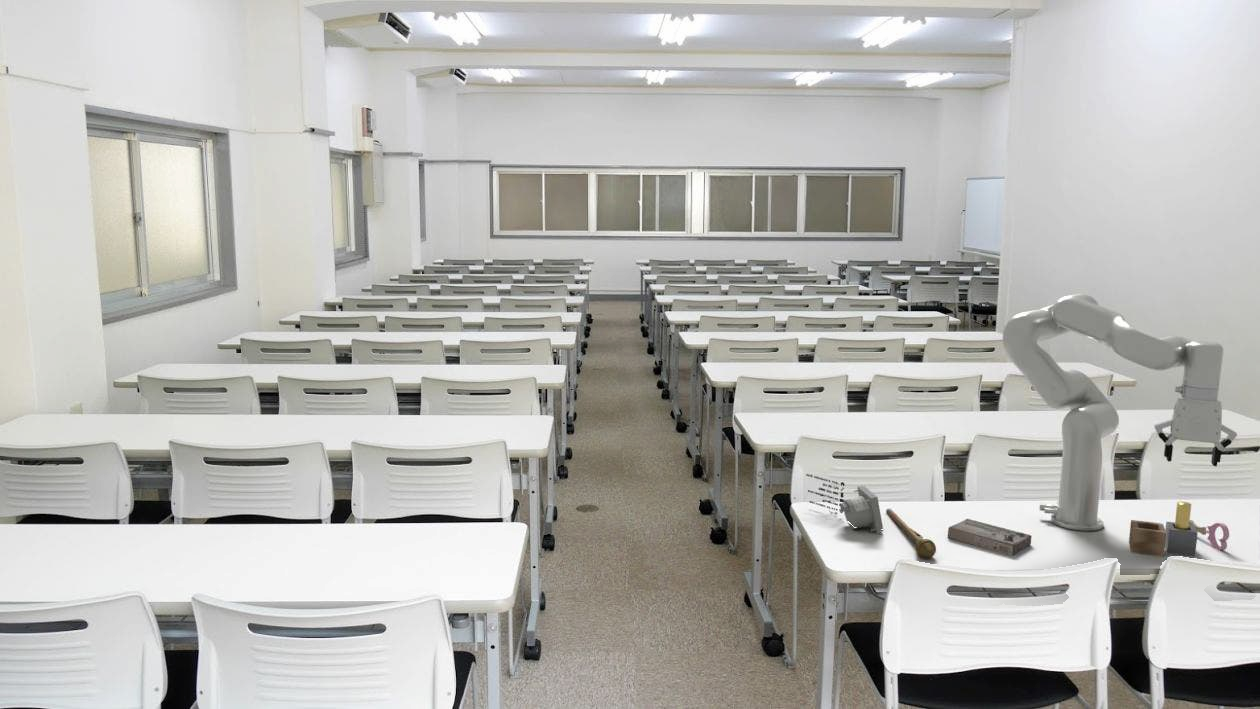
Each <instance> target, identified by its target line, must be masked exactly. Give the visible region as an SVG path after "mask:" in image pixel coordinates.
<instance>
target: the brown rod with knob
mask: <svg viewBox="0 0 1260 709" xmlns="http://www.w3.org/2000/svg"><path fill="white" fill-rule="evenodd" d="M885 512H886V514H887V515H888V516H889V517H890V518H891V519H892V520H893V521H894V522H895V523H896V524H897V525H898V526H899V527H900V528H901V530H903V531H904V532H905V534H907V536H908V537H909V538H910V539H911V540H912V541H913V542H915V553H916V554H917V555H918V557H920V558H921V559H931V558H933V557H934V556H935V554H936V553H937V547H936V544H935V543H934V541H932V540H930V539H928V538H924V539H923V535H921V534H920V533H918V532H917V531H915V530H913V528H911V527H909V526H908V524H907V523H906V522H904V521H903V520H902V519H901V518H900V517H899V516H898V514H896V513H895V512H894V511H893V509H892V508H887V509H886V510H885Z"/></svg>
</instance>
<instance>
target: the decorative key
mask: <svg viewBox="0 0 1260 709" xmlns="http://www.w3.org/2000/svg"><path fill="white" fill-rule="evenodd" d="M1189 524H1191V525H1194V526H1195V528H1196V530H1197V532H1198V533H1200V534H1201V535H1203V536H1205V535H1207V534H1208V536H1207V538H1206V539H1207V540H1208V541H1209V542H1210V544H1211V545H1212V547H1213V548H1214V549H1216V550H1217V551H1225V550H1227V548H1228V544H1227V543H1228V542H1227V541H1228V539H1229V538H1230V529H1229V527H1228V526H1227V525H1226V524H1225V523H1224V522H1216V523H1214V524H1211V525H1209V526H1203V527H1200V526H1199V525H1197V524H1196V523H1195V522H1194V520H1193V519H1190V521H1189ZM1219 527H1220V528H1221V530H1222V532H1223V533H1222V534H1223V536H1222V538H1220V539H1218V541H1219V542H1220V544H1221V545H1219V543H1218V542H1217V539H1216V531H1217V529H1218V528H1219ZM1207 529H1208V530H1207Z"/></svg>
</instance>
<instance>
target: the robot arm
mask: <svg viewBox="0 0 1260 709" xmlns="http://www.w3.org/2000/svg"><path fill="white" fill-rule="evenodd" d="M1070 332H1073V333H1075V334H1079V335H1081V336H1083V337H1085V338H1088V339H1090V340H1092V341H1095V342H1097V343H1100V344H1101V345H1104V346H1106V347H1107V348H1108V349H1109V350H1111V351H1113V352H1114V353H1116V354H1117V356H1120V357H1121V358H1123V359H1125V360H1127V361H1130V362H1132V363H1135V364H1138V365H1140V366H1142V367H1144V368H1147V369H1150V370H1153V371H1160V372H1161V371H1167V370H1171V369H1173V368H1179V367H1180V368H1181V367H1184V368H1183V377H1182V383H1181V385H1179V386H1175V387H1174V393H1178V394H1180V395H1178V396H1177V399H1176V401H1175V405H1174V408H1173V413H1172V417H1171V419H1168V420H1164V421H1161V422H1159V423H1156V424H1154V429H1155V432H1156V433H1157V435H1158V437H1159V439H1161V440H1162V442H1163V443H1164V452H1163V457H1164V458H1166V461H1167V462H1172V460H1173V449H1174V446H1173V443H1174V442H1175V441H1176V440H1180V441H1189V442H1198V443H1199V442H1200V443H1213V445H1214V446H1213V448H1212V451H1211V452H1212V455H1211V459H1210V460H1211V461H1210V463H1211V464H1212V466H1213V467H1217V466H1218V463H1220V462H1221V458H1222V451H1223V450H1224V449H1225V448H1227V447H1228V446H1230V445H1231V444H1232V442H1233V441H1234V440H1235V439H1236V437H1237V436H1238V433H1237V432H1236V431H1234V430H1233V429H1232V428H1230V427H1227V426H1226V425H1224V424H1222V420H1223V419H1222V418H1223V408H1222V401H1221V400H1220V399H1218V397H1219V390H1220V389H1219V388H1220V382H1221V381H1220V380H1221V373H1222V366H1223V365H1222V364H1223V359H1224V357H1223V356H1224V347H1223V346H1222V344H1220V343H1218V342H1215V341H1214V342H1213V341H1207V340H1193V339H1190V338H1185V337H1182V336H1177V335H1176V336H1175V335H1170V336H1166V337H1161V338H1156V337H1154V336H1151V335H1149V334H1147V333H1143V332H1141V331H1139V330H1137V329H1135V328H1133V327H1131V326H1130V325H1129V324H1128V323H1127V321H1126V318H1125V316H1124V315H1122V314H1121V313H1119V312H1117V311H1114V310H1111V309H1108V308H1105V307H1103V306H1100V304H1099V303H1098V301H1097V300H1096V299H1095V298H1094V297H1093V296H1091V295H1088V294H1085V293H1076V294H1072V295H1071V294H1070V295H1066V296H1063V297H1061V298H1059V299H1057V300H1056V302H1054V303H1053V304H1051V305H1049V306H1046V307H1043V308H1040V309H1039V308H1038V309H1034V310H1029V311H1023V312H1020V313H1017V314H1015V315H1014V316H1012V317H1011V318H1010V319H1009V320H1008V321H1007V322H1006V324H1005V326H1004V329H1003V332H1002V344H1003V348H1004V351H1005V353H1006V355H1007V357H1008V358H1009V359H1010V360H1011V362H1012V364H1013V365H1014V366H1016V368H1017V369H1018V370H1019V371H1020V373H1021V374H1022V375H1023V376H1024V377H1025V379H1026V380H1027V382H1028V383H1029V384H1030V385H1031V387H1032V388H1033V390H1035V391H1036V393H1037V394H1038V395H1039V396H1040V398H1041V399H1042V401H1043V402H1044V403H1045V404H1046V405H1047V406H1048V407H1050V408H1052V409H1055V410H1056V409H1057V410H1062V409H1066V408H1069V409H1070V410H1069V411H1068V412H1067V414H1066V415H1065V416H1064V418H1063V421H1062V423H1061V438H1062V457H1061V459H1062V460H1061V471H1060V480H1059V481H1060V483H1059V496H1058V500H1057V501H1056V503H1053V504H1052V505H1051V504H1047V503H1041V502H1040V503H1039V511H1041V512H1044V514H1049V515H1050V514H1051V515H1050V521H1051V522H1052V523H1054V525H1057V526H1059V527H1061V528H1065V529H1070V530H1074V531H1083V532H1089V531H1090V532H1091V531H1092V532H1093V531H1099V530H1101V529H1103V527H1104V521H1103V520H1102V519H1101V518H1099V517H1098V514H1099V504H1100V503H1099V502H1100V490H1101V482H1102V481H1101V480H1102V470H1103V468H1102V467H1103V448H1102V439H1104V438H1106V437H1109V436H1110V435H1111V434H1113V433H1114V432H1115V431H1116V430H1117V429H1118V426H1119V424H1120V422H1119V421H1120V420H1119V419H1120V416H1119V414H1118V412H1117V410H1116V408H1115V407H1114V405H1113V404H1112V403H1111V402H1110V400H1109V399H1108V398H1107V397H1106V395H1105V394H1104V393H1103V392H1102V391H1101V389H1099V387H1098V385H1096V384H1095V383H1094V382H1093V381H1092V379H1091V378H1090V377H1089V376H1087V374H1085V373H1083V372H1082V371H1080V370H1078V369H1065V370H1064V369H1062V367H1061V366H1060V365H1059V364H1058V363H1057V362H1056V361H1055V359H1054V358H1053V357H1052V356H1051V354H1049V353H1048V352H1047V351H1046V350H1044V349H1043V348H1042V347H1041V346H1040V345H1039V344H1038V342H1042V341H1046V340H1050V339H1052V338H1056V337H1058V336H1061V335H1064V334H1067V333H1070ZM1169 427H1170V434H1168V435H1166V434H1165V433H1164V431H1163V429H1166V428H1169ZM1222 432H1223V433H1225V434H1227V436H1226V438H1224V439H1222V440H1221V436H1222ZM1220 440H1221V441H1220Z"/></svg>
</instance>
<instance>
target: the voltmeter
mask: <svg viewBox="0 0 1260 709" xmlns="http://www.w3.org/2000/svg"><path fill="white" fill-rule="evenodd" d="M805 475H806V477H810V478H814V479H816V480H821V481H823V482H824V481H825V482H828V483H830V482H831V483H832V484H836V485H839V482H838V481H835V480H834V481H833V480H830V479H828V478H822V477H819V476H816V475H814V476H813V474H809V473H808V474H806V473H805ZM822 486H823V487H827V488H830V489H832V488H833V489H835V490H840V498H837V497H834V496H830V495H826V494H824V493H820V492H816V491H813V490H809V489H808V490H807V493H811V494H815V495H818V496H819V497H826V498H829V499H833V500H836V501H837V502H838V501H839V504H838V503H837V502H835V501H833V502H832V501H831V500H827V499H822V502H823V503H828V504H832V505H835V506H837V507H838V506H839V510H838V508H834V507H831V506H829V505H824V504H821V503H817V502H815V501H810V500H809V504H813V505H814V504H815V505H817V506H820V507H824V508H828V509H831V510H833V511H835V512H833V511H830V510H829V511H828V512H829V513H830V514H832V515H838V512H836V511H839V513H840V514H843V513H844V517H845V520H846V522H847V521H849V522H850V523H851V524H852V525H853V526H854V527H859V528H854V527H853V526H852V525H851V524H849V523H848V522H847V524H848V527H850V529H851V530H857V529H860V528H863V527H862V526H864V527H867V526H868V527H869V528H870V530H869V531H870V532H873V531H874V533H876V534H877V535H878V534H880V533H882V532H884V525H883V521H882V520H883V519H882V515H881V509H880V504H879V498H878V496H877V495H875V493H874V492H872V491H871V490H870V489H868V487H866V486H865V485H858V486H856V488H857V489H855V490H853V493H857V494H858V496H855V497H851V498H847V499H843V498H844V492H842V491H844V489H845V488H844V487H845V482H844V481H842V482H840V486H842V489H839V487H838V486H833V485H830V484H828V485H827V484H826V483H822ZM818 490H819V491H823V492H827V493H829V494H833V495H837V496H839V493H838V492H836V491H834V490H833V492H832V490H829V489H826V488H822V487H819V488H818ZM881 529H883V530H881Z"/></svg>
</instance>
